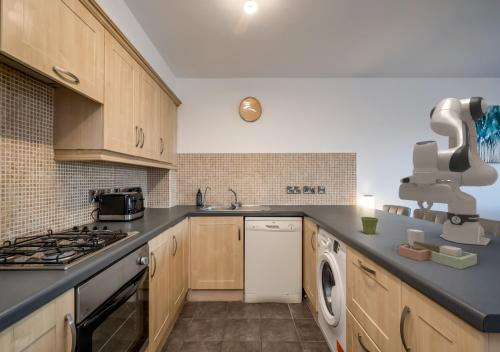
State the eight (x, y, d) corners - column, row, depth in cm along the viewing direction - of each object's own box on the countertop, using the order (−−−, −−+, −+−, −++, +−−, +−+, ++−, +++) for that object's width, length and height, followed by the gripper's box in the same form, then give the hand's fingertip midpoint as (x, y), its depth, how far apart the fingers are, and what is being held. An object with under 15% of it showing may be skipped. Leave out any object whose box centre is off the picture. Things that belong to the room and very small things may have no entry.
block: (446, 258, 96) (446, 245, 96) (461, 263, 91) (461, 248, 91) (439, 260, 93) (439, 246, 93) (455, 265, 89) (455, 250, 89)
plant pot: (375, 231, 143) (376, 217, 143) (380, 235, 133) (380, 219, 133) (358, 230, 145) (359, 216, 145) (362, 234, 135) (362, 219, 135)
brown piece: (415, 248, 109) (415, 241, 109) (446, 256, 98) (446, 248, 98) (401, 251, 104) (401, 243, 104) (432, 260, 93) (432, 251, 93)
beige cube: (427, 247, 111) (427, 232, 111) (410, 246, 112) (410, 231, 112) (420, 243, 118) (420, 229, 118) (404, 242, 119) (404, 228, 119)
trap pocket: (405, 253, 102) (405, 244, 102) (427, 259, 95) (427, 250, 95) (398, 254, 100) (398, 246, 100) (420, 261, 93) (420, 252, 93)
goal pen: (447, 256, 99) (447, 247, 99) (477, 263, 90) (477, 254, 90) (431, 261, 93) (431, 252, 93) (460, 269, 85) (461, 259, 85)
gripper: (459, 179, 93) (459, 215, 93) (404, 178, 111) (404, 208, 111) (451, 180, 90) (451, 217, 90) (396, 179, 108) (396, 209, 108)
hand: (425, 212), depth 101 cm, fingers closed
